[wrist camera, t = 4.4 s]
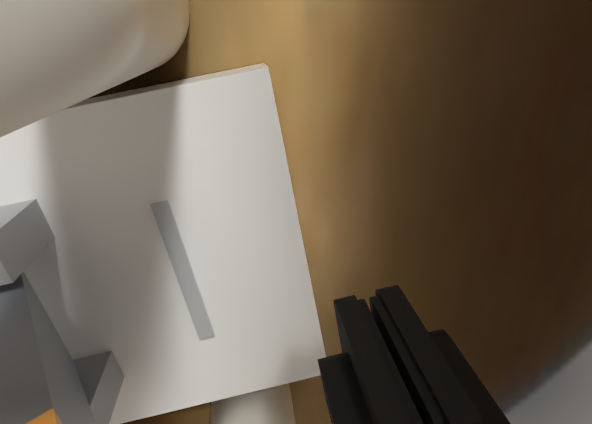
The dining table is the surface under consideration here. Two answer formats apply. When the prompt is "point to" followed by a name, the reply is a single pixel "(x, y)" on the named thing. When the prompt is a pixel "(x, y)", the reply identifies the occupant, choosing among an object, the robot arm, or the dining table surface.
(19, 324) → the paddle
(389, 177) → the dining table surface
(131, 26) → the post
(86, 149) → the panel
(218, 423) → the post
